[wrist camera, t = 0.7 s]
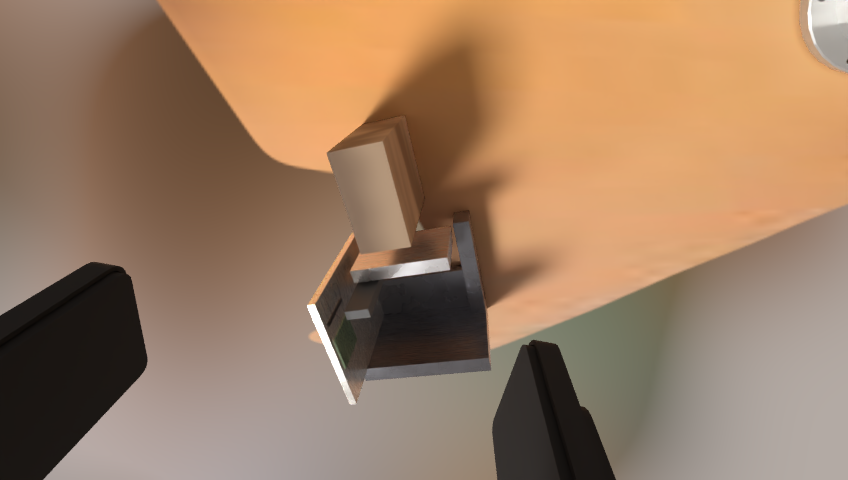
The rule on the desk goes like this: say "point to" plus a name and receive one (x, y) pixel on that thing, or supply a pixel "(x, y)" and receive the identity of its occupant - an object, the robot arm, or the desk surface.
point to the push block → (379, 184)
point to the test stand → (406, 320)
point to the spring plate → (408, 257)
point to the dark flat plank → (363, 299)
